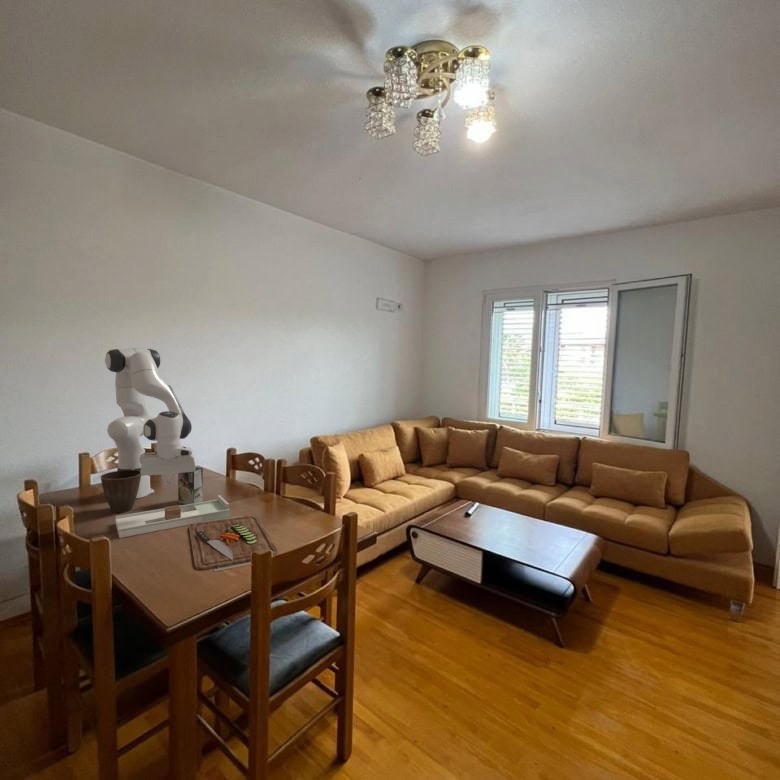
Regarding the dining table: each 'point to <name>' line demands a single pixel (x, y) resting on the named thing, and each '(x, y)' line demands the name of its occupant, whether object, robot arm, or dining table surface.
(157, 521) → the tray
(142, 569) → the dining table surface
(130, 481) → the plant pot
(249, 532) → the chopping board
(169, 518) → the block
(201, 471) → the coffee box
